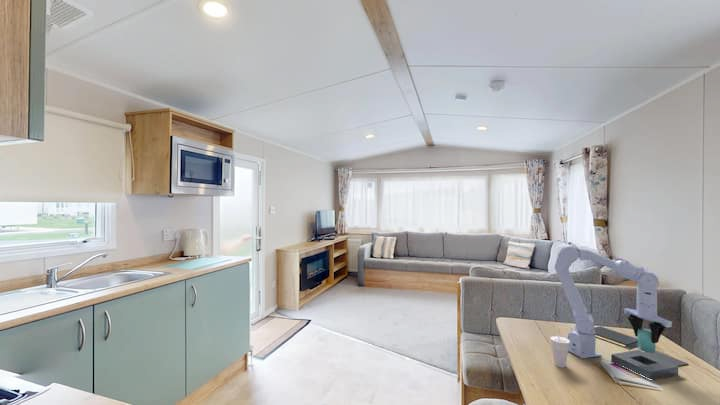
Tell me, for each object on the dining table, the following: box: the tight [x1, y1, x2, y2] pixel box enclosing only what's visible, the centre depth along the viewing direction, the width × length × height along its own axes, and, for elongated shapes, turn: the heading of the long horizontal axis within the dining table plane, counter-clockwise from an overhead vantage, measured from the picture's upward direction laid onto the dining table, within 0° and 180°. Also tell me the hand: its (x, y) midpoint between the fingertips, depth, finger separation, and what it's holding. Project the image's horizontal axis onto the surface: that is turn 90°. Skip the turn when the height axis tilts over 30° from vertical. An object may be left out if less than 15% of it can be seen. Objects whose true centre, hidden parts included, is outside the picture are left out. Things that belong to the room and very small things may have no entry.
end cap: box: [637, 327, 656, 353], centre depth 119 cm, size 5×5×7 cm
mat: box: [643, 350, 689, 367], centre depth 124 cm, size 11×11×1 cm
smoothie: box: [550, 326, 570, 368], centre depth 120 cm, size 6×6×14 cm
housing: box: [610, 349, 679, 381], centre depth 118 cm, size 14×13×3 cm
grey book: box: [594, 326, 638, 351], centre depth 144 cm, size 20×2×15 cm
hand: (646, 339), depth 119 cm, fingers closed on end cap, 5 cm apart
